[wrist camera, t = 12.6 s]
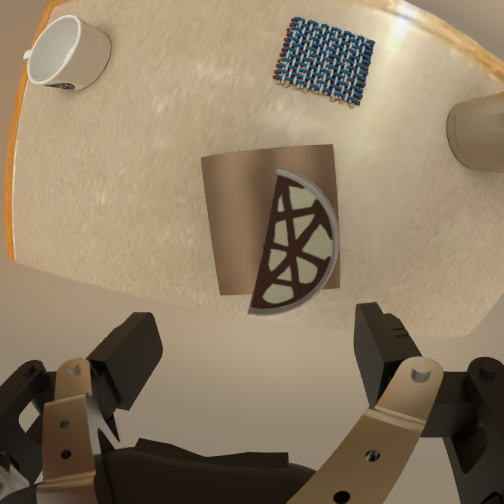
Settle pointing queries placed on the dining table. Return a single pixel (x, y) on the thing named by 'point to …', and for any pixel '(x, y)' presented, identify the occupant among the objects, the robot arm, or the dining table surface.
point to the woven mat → (324, 60)
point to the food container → (295, 246)
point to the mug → (68, 54)
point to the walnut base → (256, 206)
